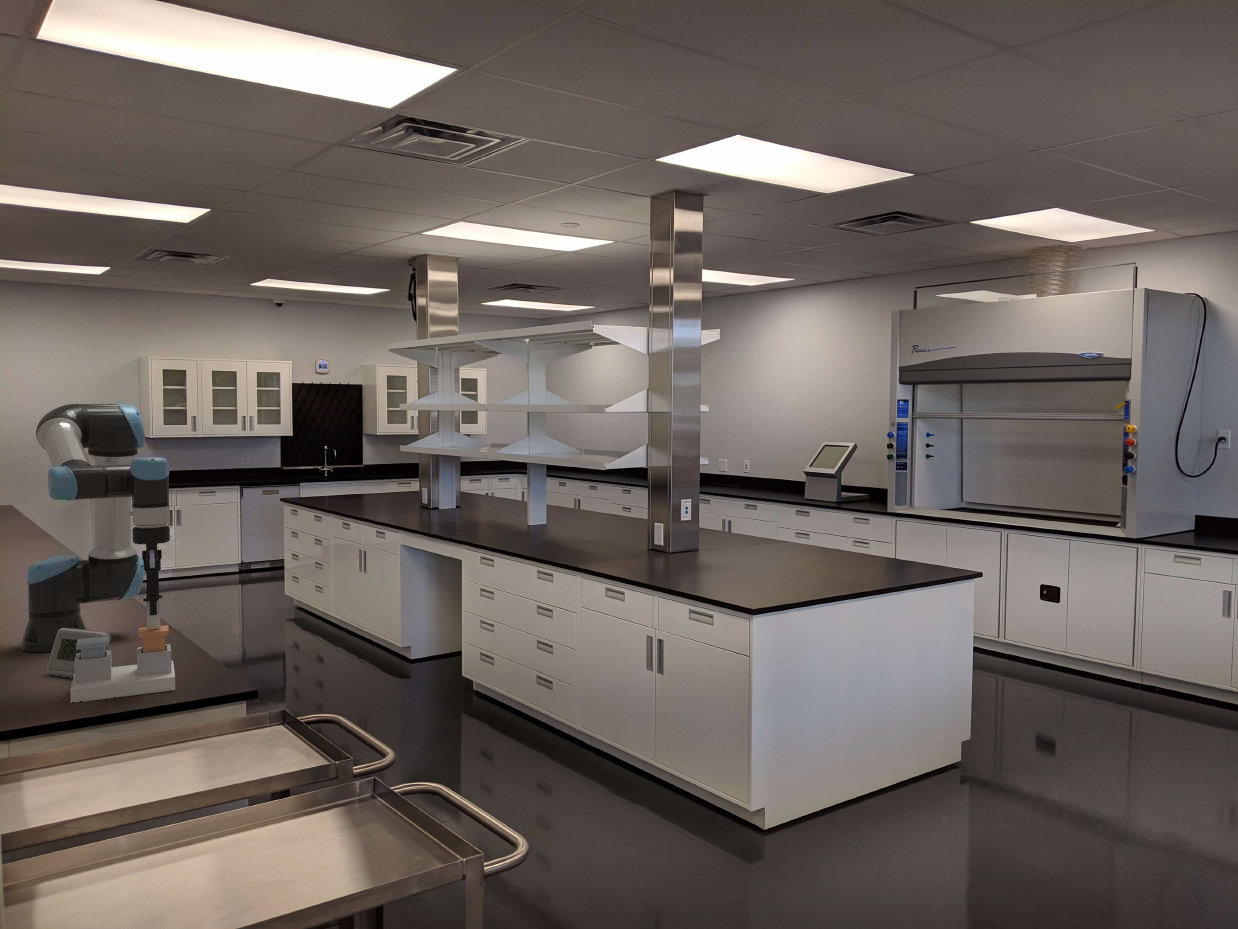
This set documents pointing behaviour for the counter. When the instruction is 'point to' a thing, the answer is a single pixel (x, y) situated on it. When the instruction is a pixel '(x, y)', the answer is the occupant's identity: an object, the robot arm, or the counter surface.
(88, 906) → the counter surface
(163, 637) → the orange plunger
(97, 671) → the button console
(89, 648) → the grey plunger
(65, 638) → the digital clock
